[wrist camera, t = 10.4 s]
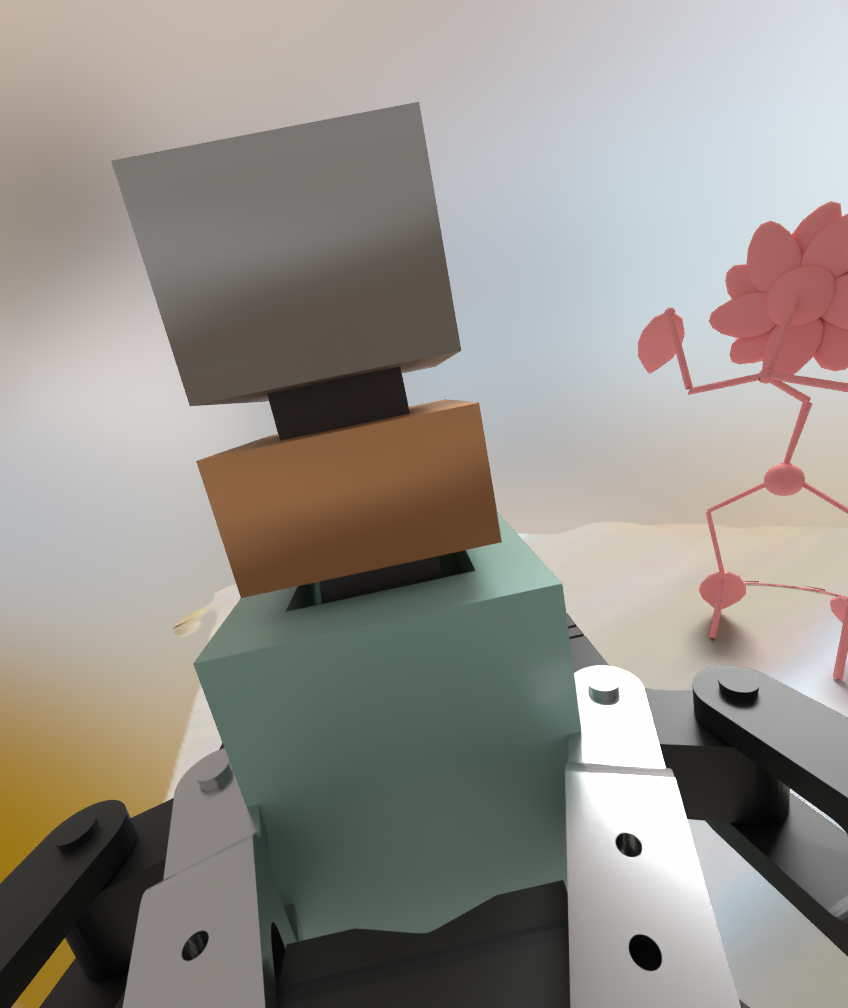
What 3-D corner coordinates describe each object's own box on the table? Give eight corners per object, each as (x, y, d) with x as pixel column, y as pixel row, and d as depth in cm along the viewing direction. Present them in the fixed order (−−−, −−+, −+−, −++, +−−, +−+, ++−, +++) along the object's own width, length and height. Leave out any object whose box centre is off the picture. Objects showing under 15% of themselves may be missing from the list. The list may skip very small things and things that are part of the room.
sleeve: (616, 992, 8) (562, 583, 6) (339, 1058, 8) (193, 663, 6) (531, 767, 13) (486, 499, 11) (359, 806, 13) (281, 542, 11)
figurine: (1013, 746, 28) (1111, 69, 20) (626, 616, 49) (596, 268, 41) (1046, 639, 35) (1126, 122, 27) (699, 567, 57) (686, 266, 49)
